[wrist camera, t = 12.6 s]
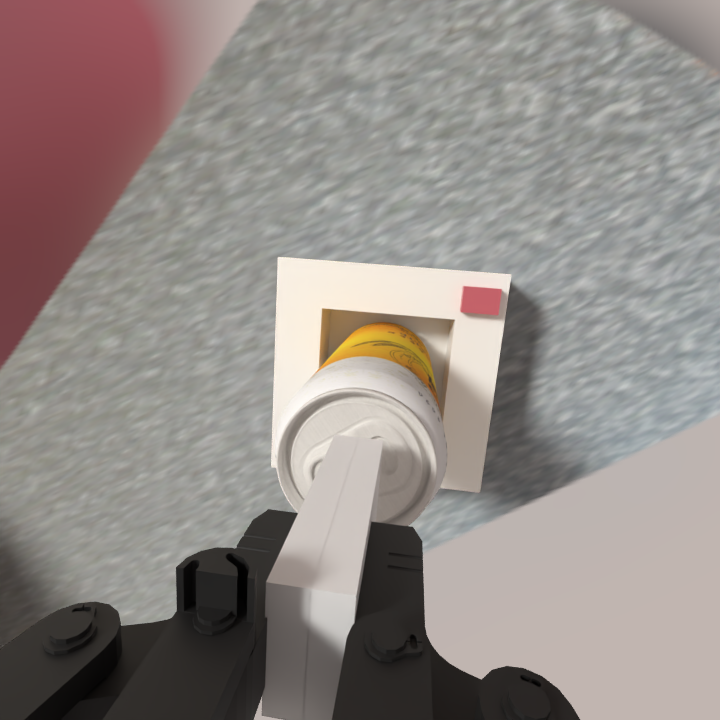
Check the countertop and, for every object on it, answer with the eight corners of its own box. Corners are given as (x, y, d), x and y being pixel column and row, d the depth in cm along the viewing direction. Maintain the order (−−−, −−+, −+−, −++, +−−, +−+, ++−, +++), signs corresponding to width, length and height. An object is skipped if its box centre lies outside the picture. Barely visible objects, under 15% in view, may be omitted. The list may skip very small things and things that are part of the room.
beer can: (445, 391, 29) (478, 519, 14) (360, 424, 30) (310, 572, 15) (409, 305, 28) (406, 347, 13) (323, 342, 29) (233, 417, 15)
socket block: (286, 445, 31) (268, 471, 28) (293, 258, 29) (274, 256, 25) (472, 467, 30) (481, 497, 26) (499, 273, 27) (513, 274, 23)
